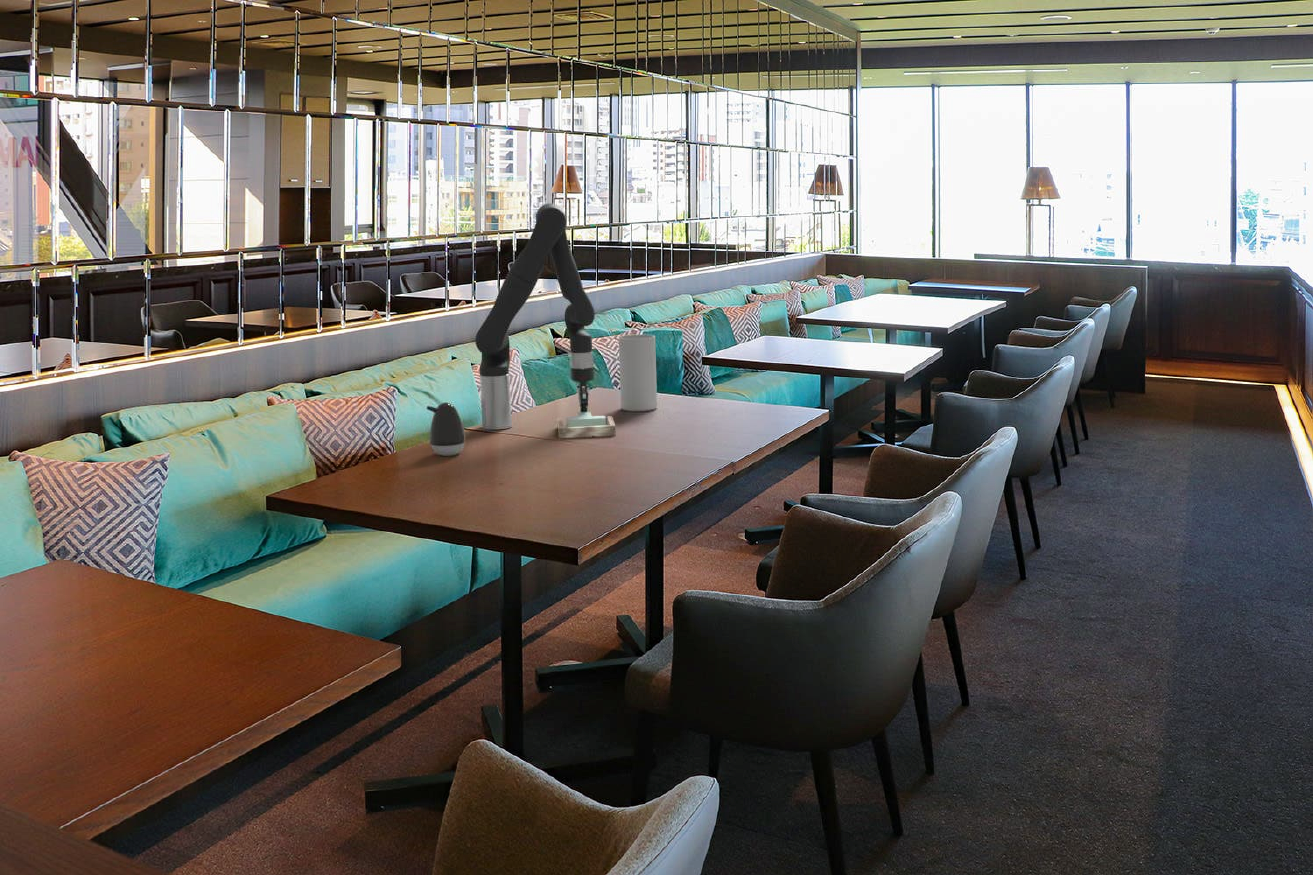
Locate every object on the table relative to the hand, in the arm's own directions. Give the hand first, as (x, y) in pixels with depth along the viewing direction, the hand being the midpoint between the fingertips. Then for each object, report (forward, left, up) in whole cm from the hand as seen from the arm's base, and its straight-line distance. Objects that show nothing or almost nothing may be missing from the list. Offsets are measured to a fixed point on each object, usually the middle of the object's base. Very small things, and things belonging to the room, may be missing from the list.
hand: (584, 418), depth 362 cm
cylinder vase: (+20, +22, -2) cm, 29 cm away
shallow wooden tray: (0, -14, -2) cm, 14 cm away
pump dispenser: (-41, -37, -2) cm, 56 cm away
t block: (0, -8, -2) cm, 8 cm away
